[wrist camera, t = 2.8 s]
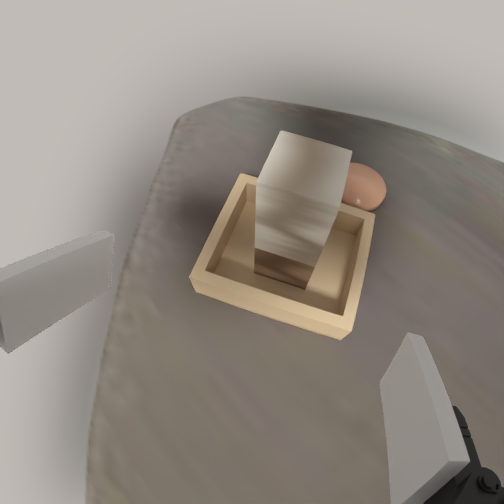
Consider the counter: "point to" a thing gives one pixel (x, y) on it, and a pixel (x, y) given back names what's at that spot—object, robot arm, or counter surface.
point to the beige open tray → (278, 293)
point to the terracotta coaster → (363, 188)
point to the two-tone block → (297, 206)
